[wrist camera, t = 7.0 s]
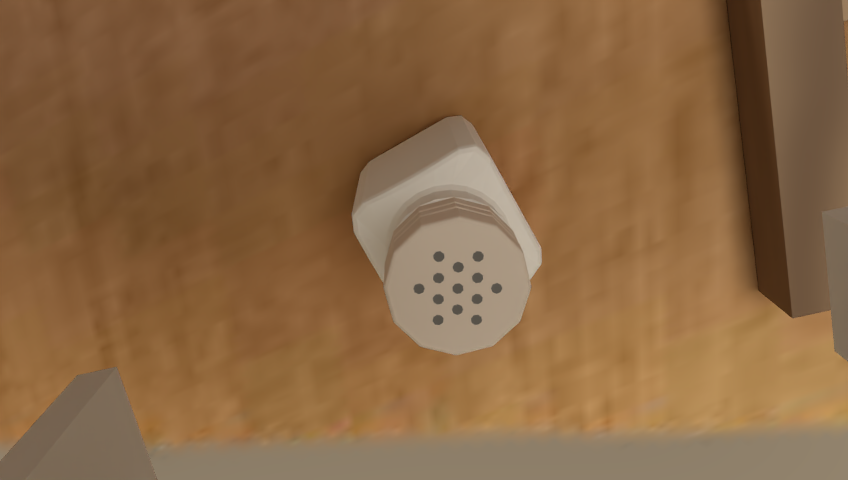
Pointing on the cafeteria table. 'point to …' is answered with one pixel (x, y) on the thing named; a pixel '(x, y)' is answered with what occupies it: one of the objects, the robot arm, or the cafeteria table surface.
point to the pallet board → (792, 138)
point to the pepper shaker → (446, 239)
